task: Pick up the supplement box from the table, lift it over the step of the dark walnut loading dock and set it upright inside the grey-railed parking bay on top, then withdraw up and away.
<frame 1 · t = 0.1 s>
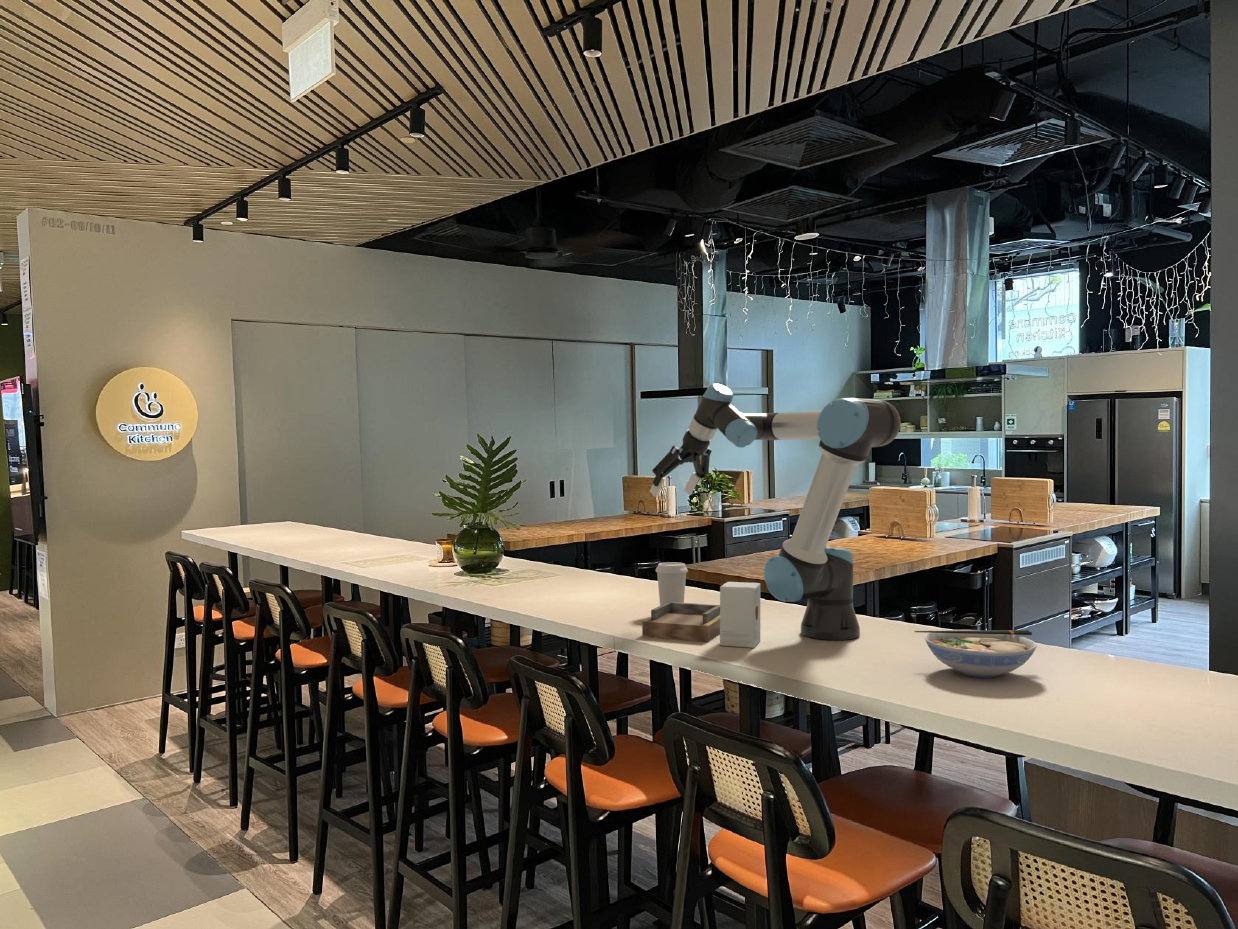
hand: (670, 493, 265), 36 cm above the bar counter, tool tilted 35°, fingers open, 13 cm apart
ramen bowl: (979, 674, 195), on the bar counter
dock: (686, 632, 240), on the bar counter
supplement box: (740, 644, 226), on the bar counter
coffee cup: (671, 615, 265), on the bar counter
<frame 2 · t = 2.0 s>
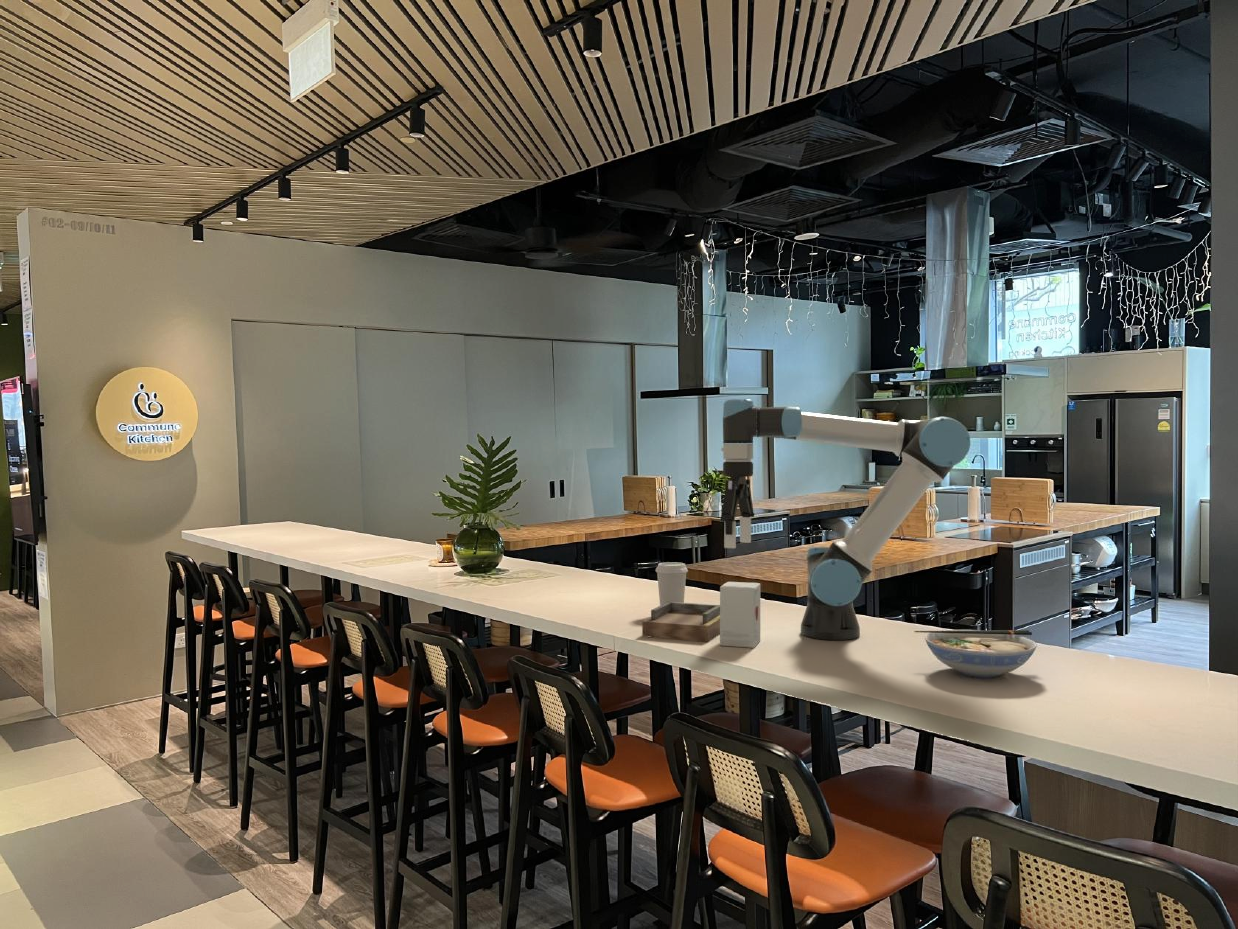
hand: (737, 545, 226), 25 cm above the bar counter, tool pointing down, fingers open, 13 cm apart
nothing on the bar counter moved.
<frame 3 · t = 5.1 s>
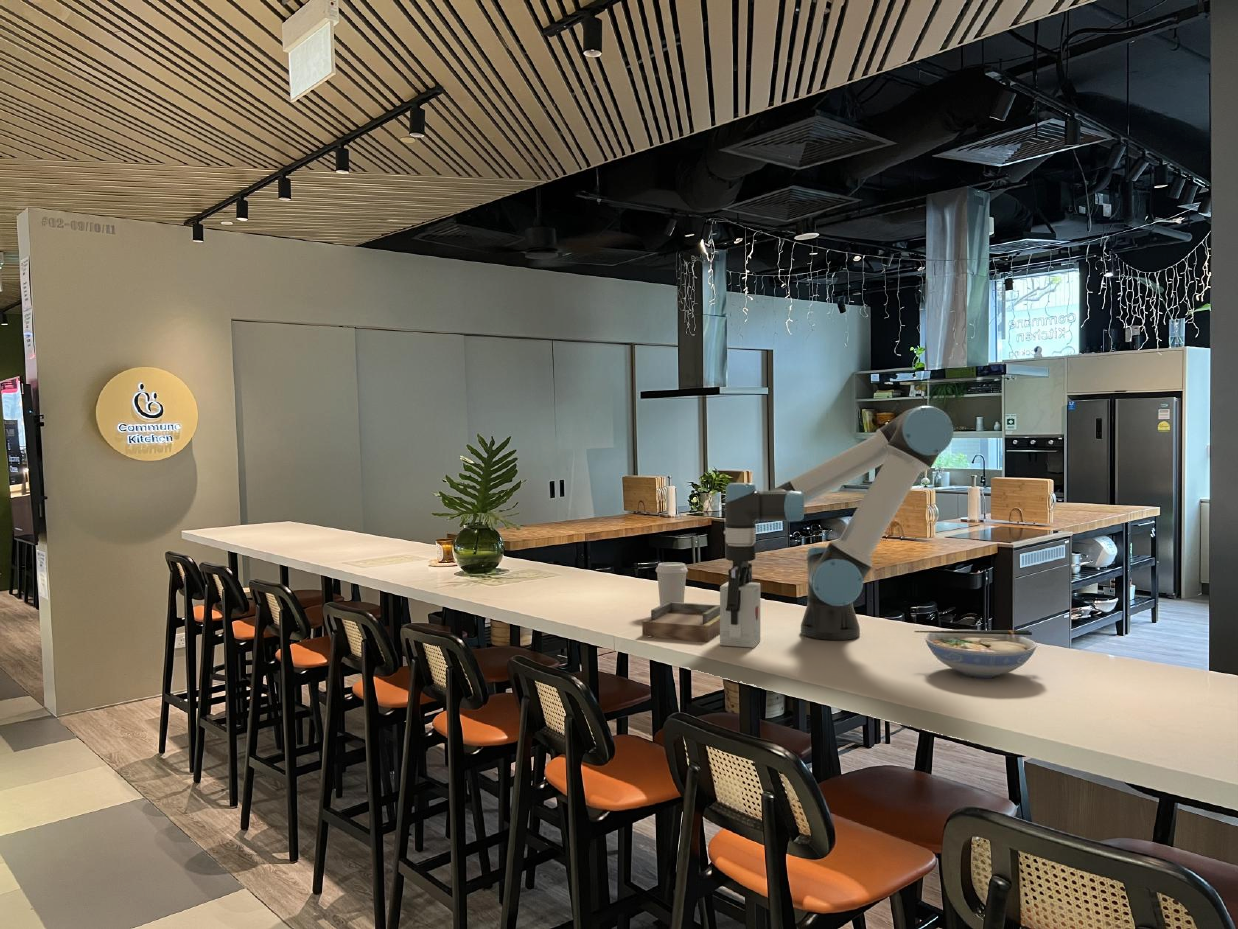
hand: (740, 633, 226), 3 cm above the bar counter, tool pointing down, fingers closed on supplement box, 9 cm apart
supplement box: (740, 644, 226), on the bar counter, touching gripper
everything else where it was.
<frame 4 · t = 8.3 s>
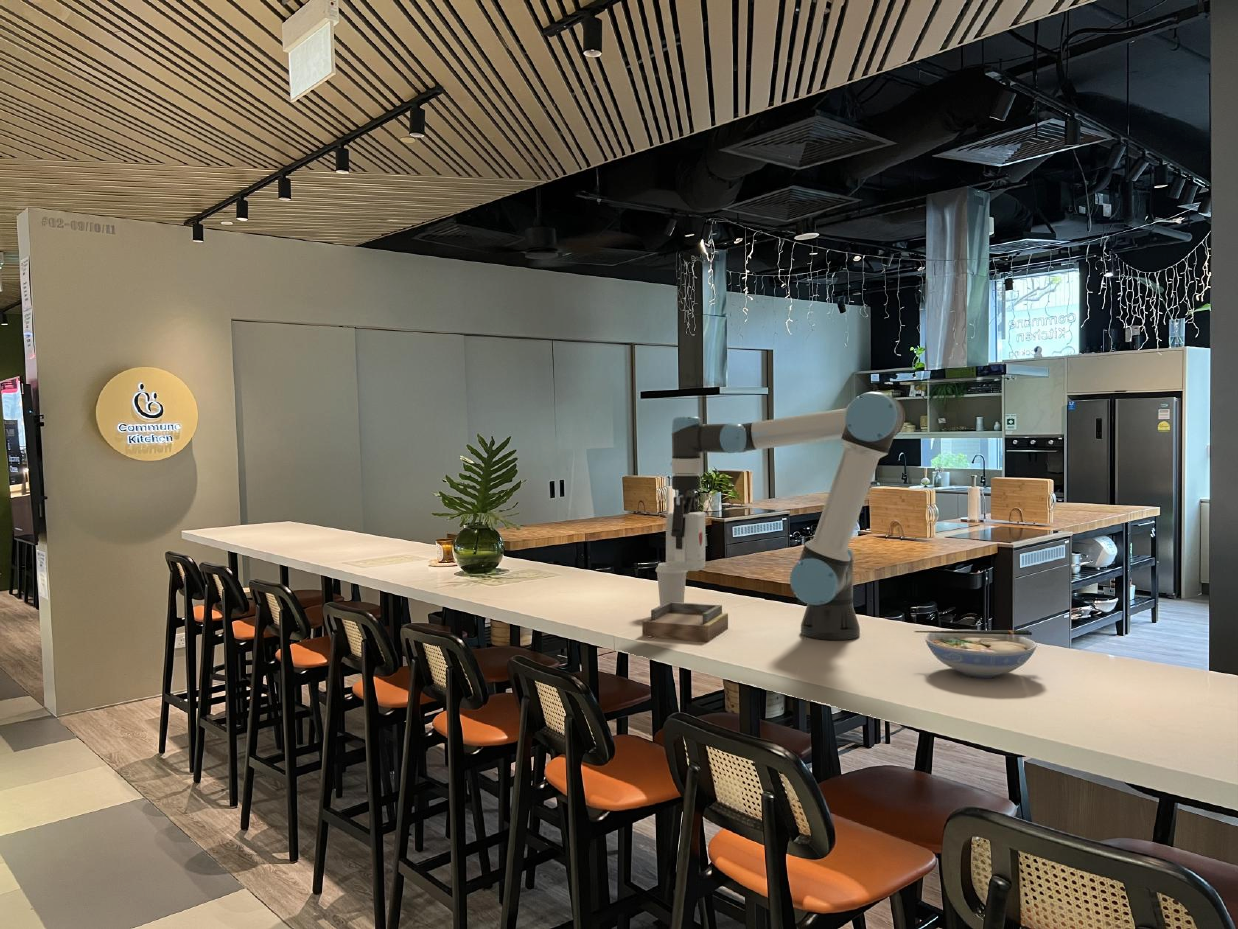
hand: (686, 559, 239), 20 cm above the bar counter, tool pointing down, fingers closed on supplement box, 9 cm apart
supplement box: (686, 569, 239), point 17 cm above the bar counter, touching gripper
everything else where it was.
when the fingers open (8 cm above the bar counter, at t = 11.3 s): supplement box drops 2 cm, resting on dock.
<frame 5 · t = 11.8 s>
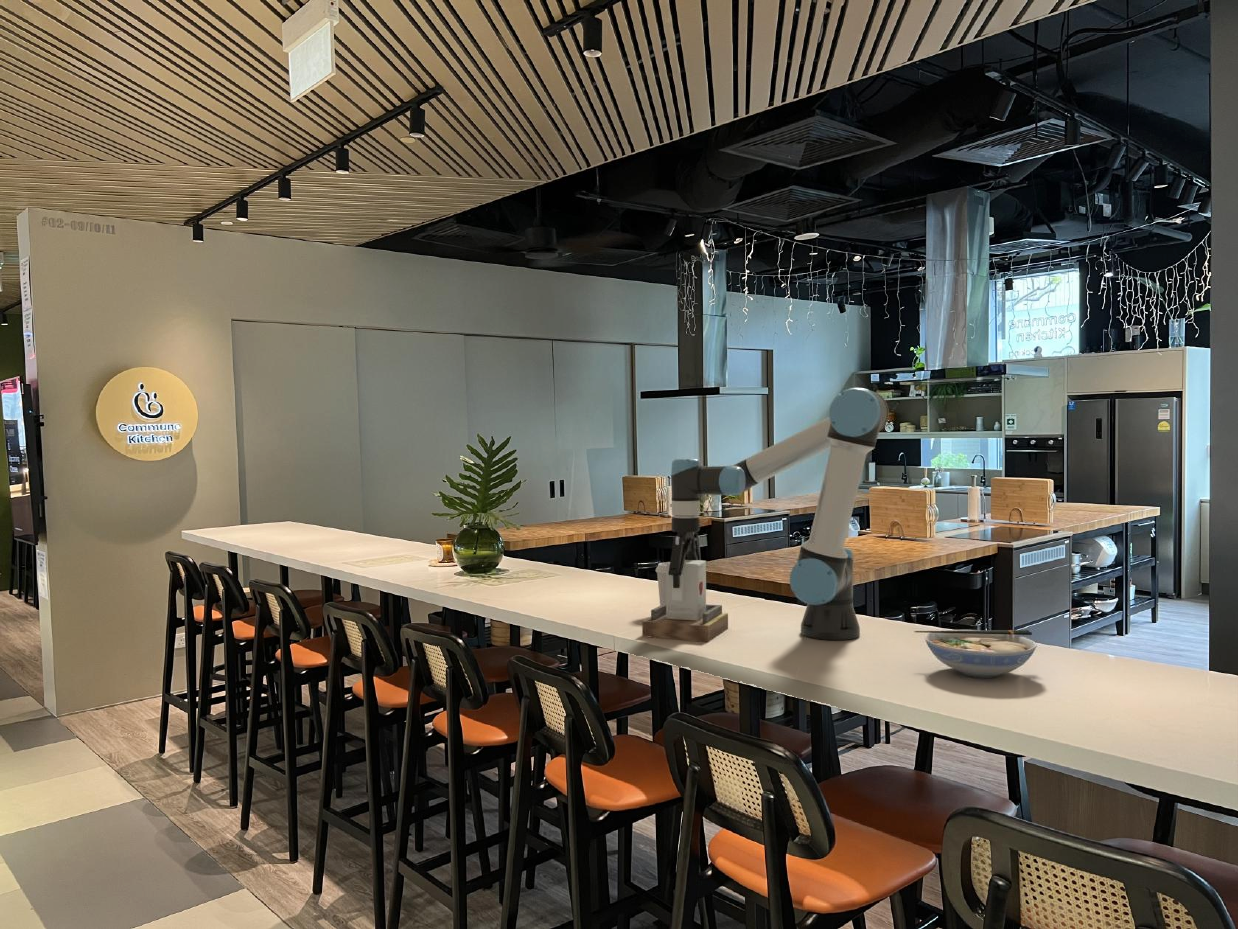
hand: (685, 596, 240), 10 cm above the bar counter, tool pointing down, fingers open, 13 cm apart
supplement box: (686, 618, 240), point 4 cm above the bar counter, touching dock
everything else where it was.
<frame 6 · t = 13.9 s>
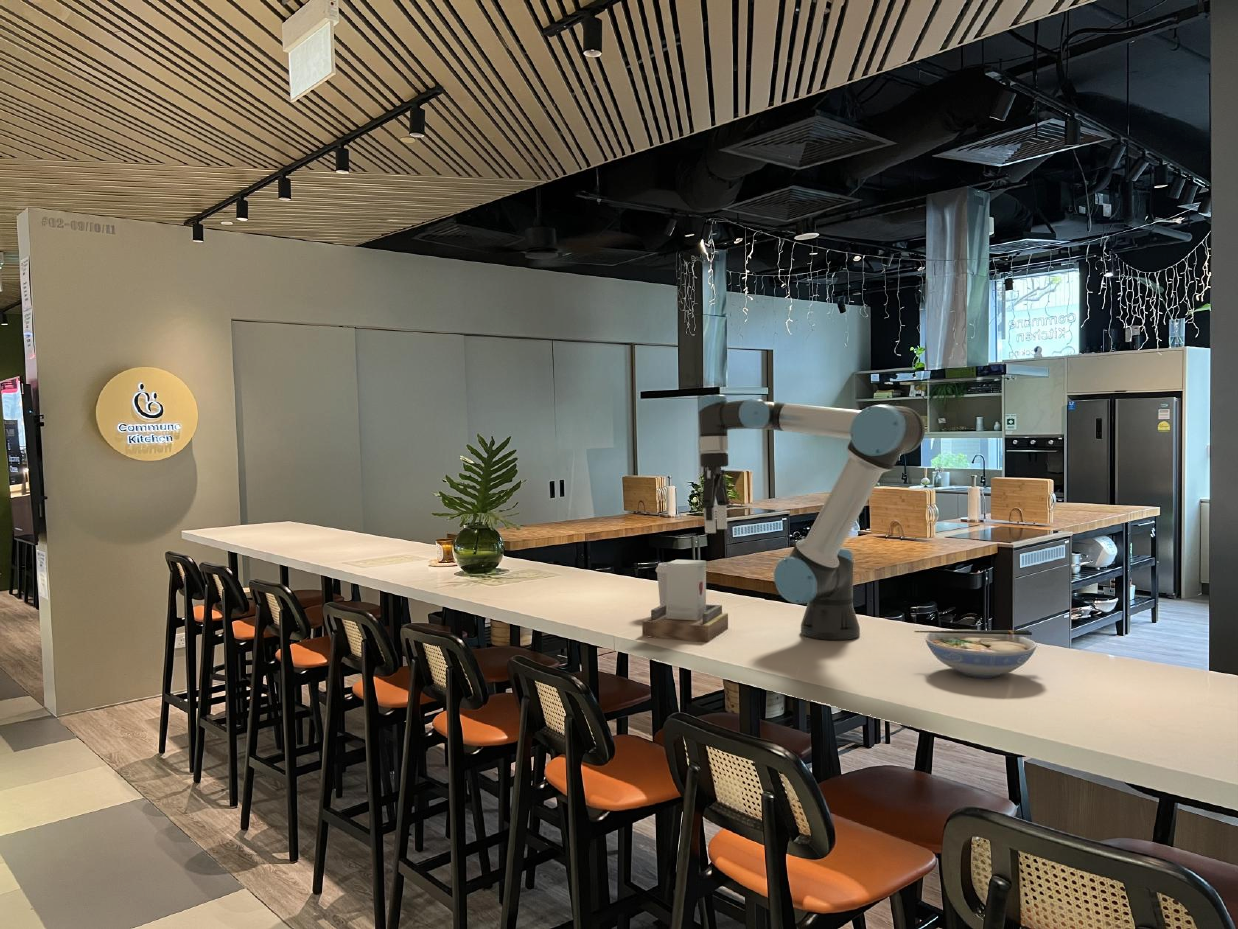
hand: (716, 531, 243), 27 cm above the bar counter, tool pointing down, fingers open, 13 cm apart
nothing on the bar counter moved.
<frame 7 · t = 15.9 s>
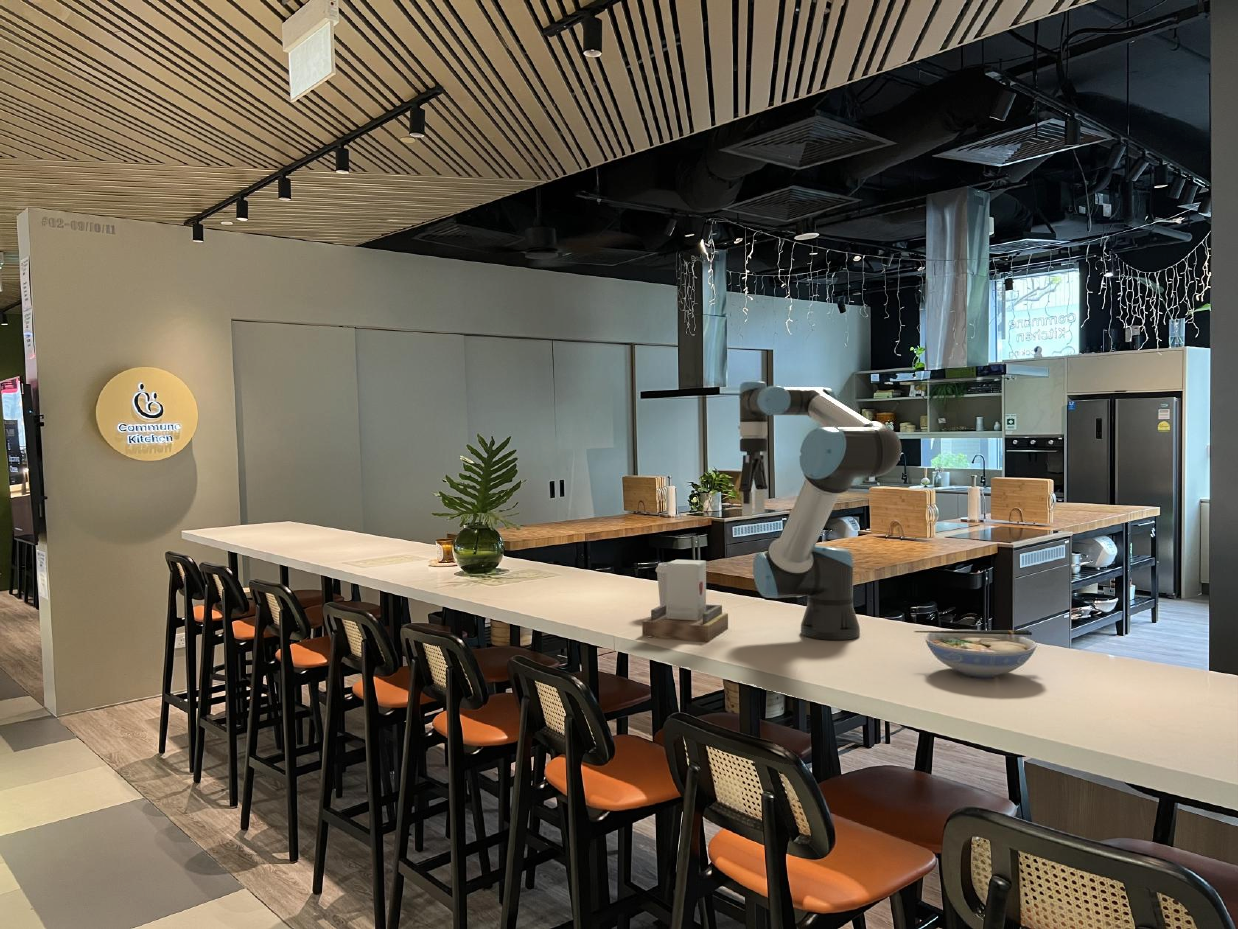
hand: (753, 514, 250), 31 cm above the bar counter, tool pointing down, fingers open, 13 cm apart
nothing on the bar counter moved.
at the end: supplement box 0.3 cm off-centre on the dock, point 3.8 cm above the dock's base; supplement box tilted 0°; the gripper is holding nothing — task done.
